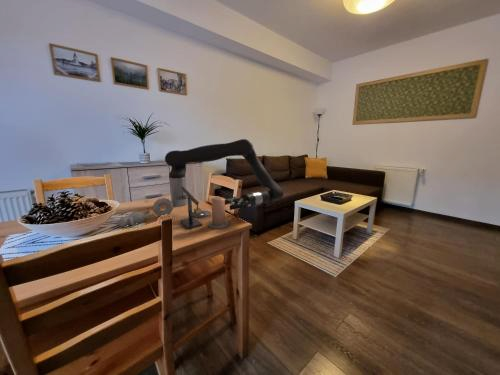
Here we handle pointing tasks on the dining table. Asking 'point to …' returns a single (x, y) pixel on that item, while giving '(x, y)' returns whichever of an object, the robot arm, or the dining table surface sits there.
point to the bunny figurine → (134, 218)
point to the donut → (160, 202)
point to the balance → (197, 212)
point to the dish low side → (218, 226)
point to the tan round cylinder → (218, 211)
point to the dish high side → (207, 213)
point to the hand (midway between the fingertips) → (225, 205)
